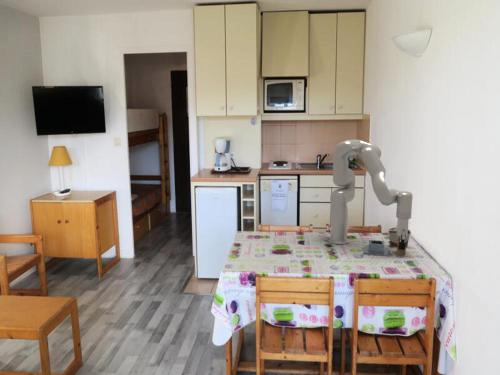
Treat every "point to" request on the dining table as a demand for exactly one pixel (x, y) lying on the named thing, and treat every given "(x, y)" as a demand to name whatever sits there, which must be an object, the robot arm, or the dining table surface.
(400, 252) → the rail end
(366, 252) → the cup bracket
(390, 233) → the food container
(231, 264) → the dining table surface
